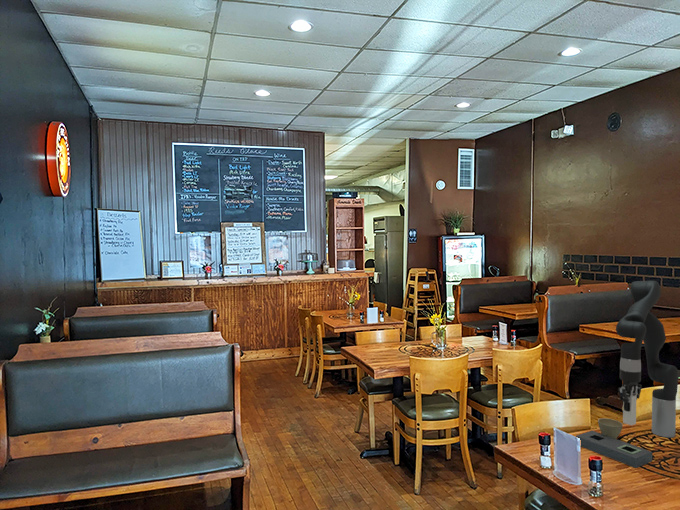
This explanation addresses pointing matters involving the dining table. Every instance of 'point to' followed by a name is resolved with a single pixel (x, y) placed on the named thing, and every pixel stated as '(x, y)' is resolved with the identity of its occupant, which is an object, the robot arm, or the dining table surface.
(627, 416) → the plug peg
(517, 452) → the dining table surface
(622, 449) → the panel
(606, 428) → the flower pot
